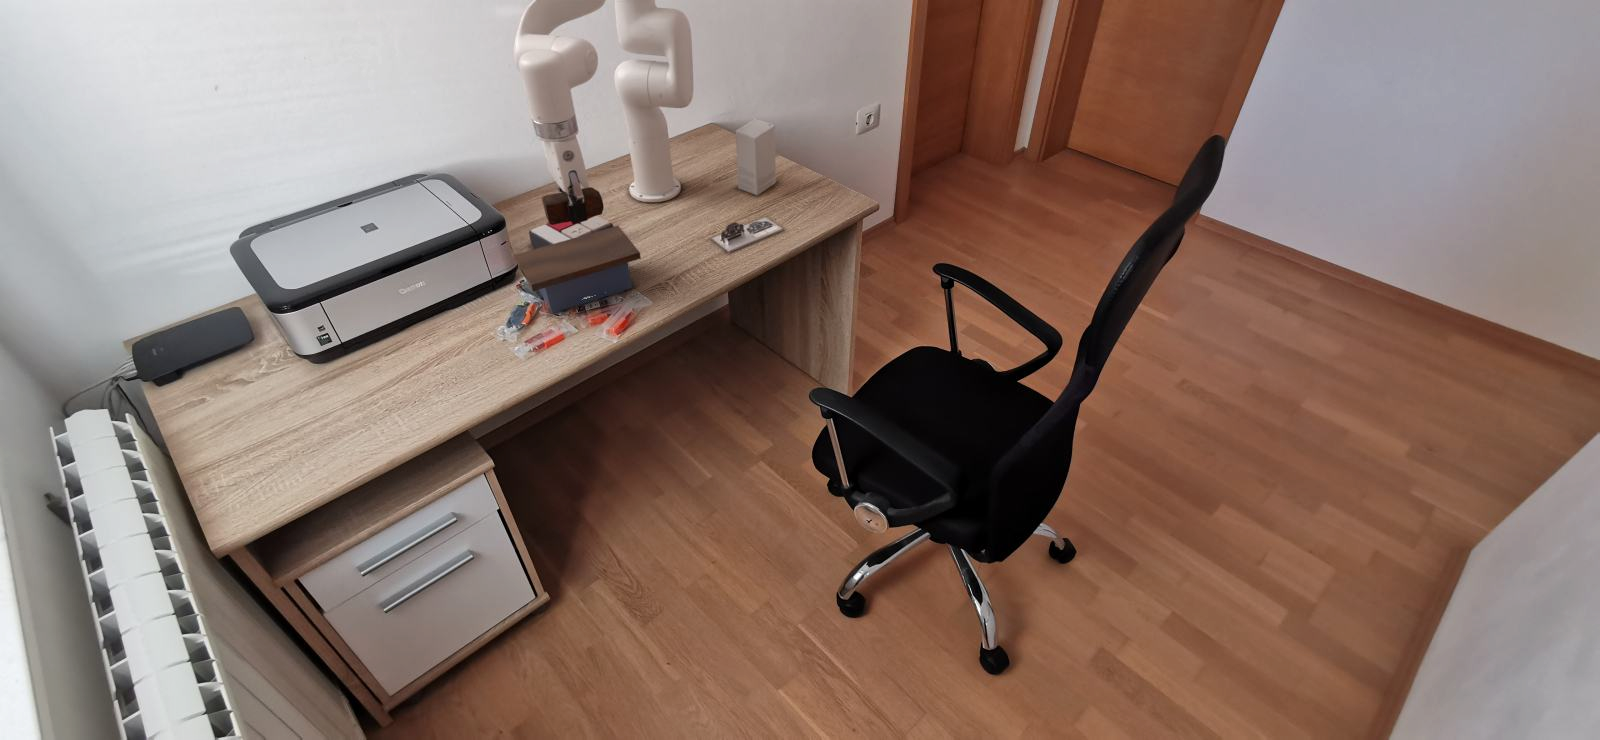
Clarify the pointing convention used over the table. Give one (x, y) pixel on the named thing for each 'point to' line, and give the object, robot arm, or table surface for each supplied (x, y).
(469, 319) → the table surface
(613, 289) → the blue box
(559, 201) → the brick
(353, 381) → the table surface
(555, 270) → the board
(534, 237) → the button pad
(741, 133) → the cosmetic box
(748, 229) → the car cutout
